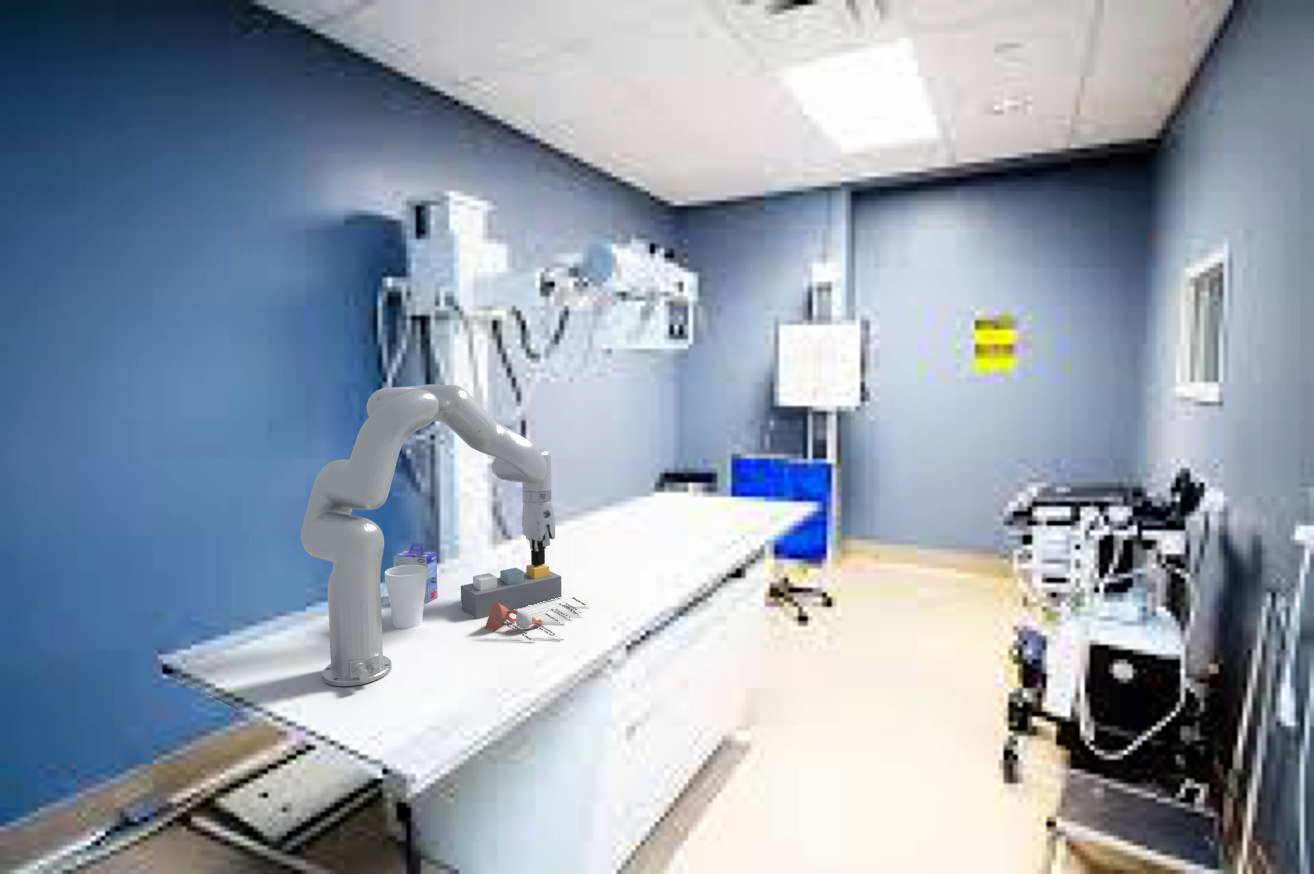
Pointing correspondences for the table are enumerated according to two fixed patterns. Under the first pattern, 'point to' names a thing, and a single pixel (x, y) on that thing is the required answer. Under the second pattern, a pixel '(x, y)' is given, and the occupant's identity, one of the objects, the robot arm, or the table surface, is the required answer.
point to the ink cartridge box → (425, 560)
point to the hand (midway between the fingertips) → (538, 564)
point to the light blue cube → (512, 576)
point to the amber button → (537, 571)
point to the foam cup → (406, 594)
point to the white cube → (484, 582)
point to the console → (510, 594)
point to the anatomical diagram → (520, 617)
